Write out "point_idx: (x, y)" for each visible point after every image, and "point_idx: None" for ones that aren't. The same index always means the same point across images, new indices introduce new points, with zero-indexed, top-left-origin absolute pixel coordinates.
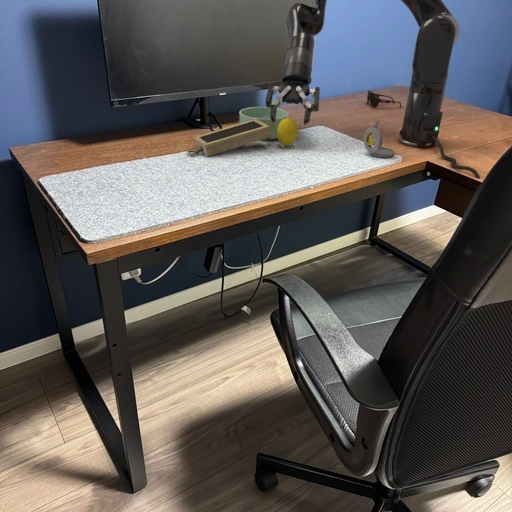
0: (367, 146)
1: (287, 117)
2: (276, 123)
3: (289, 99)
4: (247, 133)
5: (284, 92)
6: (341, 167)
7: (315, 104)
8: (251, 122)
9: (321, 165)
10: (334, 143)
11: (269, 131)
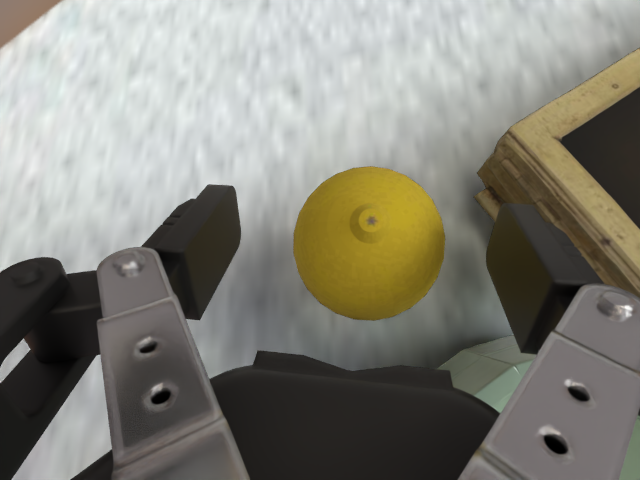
0: None
1: (379, 209)
2: (472, 377)
3: (396, 368)
4: (634, 52)
5: (546, 443)
6: (114, 36)
7: (35, 266)
8: None
9: (194, 36)
10: (91, 384)
11: (491, 156)
